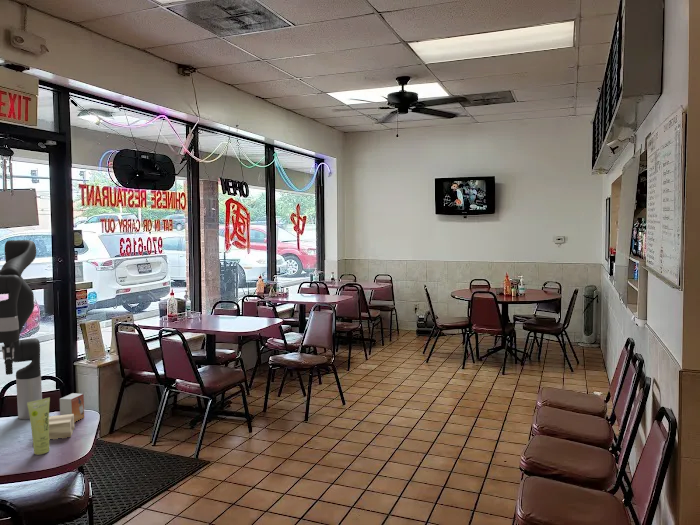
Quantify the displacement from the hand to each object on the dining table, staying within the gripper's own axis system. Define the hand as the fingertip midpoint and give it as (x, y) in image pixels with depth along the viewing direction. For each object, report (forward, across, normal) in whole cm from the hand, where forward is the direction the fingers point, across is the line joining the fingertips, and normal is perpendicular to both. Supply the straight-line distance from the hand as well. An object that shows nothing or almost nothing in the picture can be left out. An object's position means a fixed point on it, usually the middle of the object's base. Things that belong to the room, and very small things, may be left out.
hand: (9, 371), depth 211 cm
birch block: (+27, +1, -14) cm, 31 cm away
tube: (+28, -15, -9) cm, 33 cm away
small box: (+27, +14, -22) cm, 38 cm away
